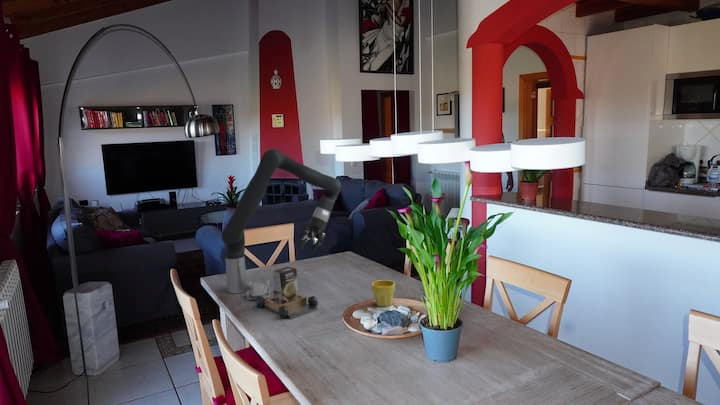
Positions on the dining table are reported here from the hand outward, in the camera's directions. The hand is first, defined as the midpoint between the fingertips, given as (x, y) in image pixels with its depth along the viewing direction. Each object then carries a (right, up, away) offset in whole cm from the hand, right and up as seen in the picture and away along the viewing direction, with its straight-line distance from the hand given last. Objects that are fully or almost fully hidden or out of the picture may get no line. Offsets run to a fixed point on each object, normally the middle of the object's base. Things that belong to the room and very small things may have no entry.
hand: (306, 250), depth 233 cm
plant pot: (+36, -23, -10) cm, 43 cm away
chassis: (-8, -24, -9) cm, 27 cm away
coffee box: (-8, -23, -9) cm, 26 cm away
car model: (-24, -22, +12) cm, 35 cm away
